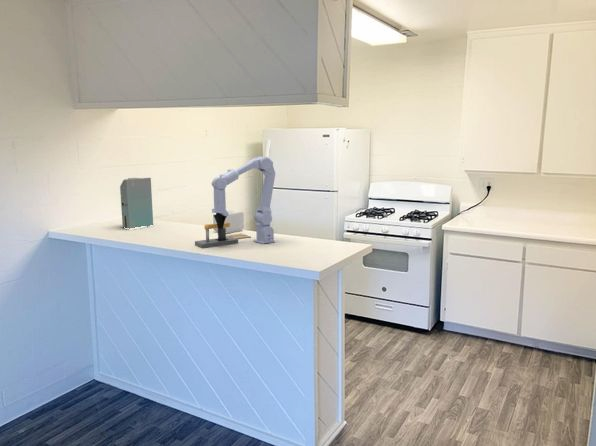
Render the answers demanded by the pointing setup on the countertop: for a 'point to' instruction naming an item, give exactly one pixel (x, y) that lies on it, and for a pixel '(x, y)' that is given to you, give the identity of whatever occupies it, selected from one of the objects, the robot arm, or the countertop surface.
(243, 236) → the cork mat
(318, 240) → the countertop surface
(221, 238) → the plug
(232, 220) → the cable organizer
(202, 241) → the grey base with posts
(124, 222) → the device
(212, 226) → the clip
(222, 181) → the robot arm
